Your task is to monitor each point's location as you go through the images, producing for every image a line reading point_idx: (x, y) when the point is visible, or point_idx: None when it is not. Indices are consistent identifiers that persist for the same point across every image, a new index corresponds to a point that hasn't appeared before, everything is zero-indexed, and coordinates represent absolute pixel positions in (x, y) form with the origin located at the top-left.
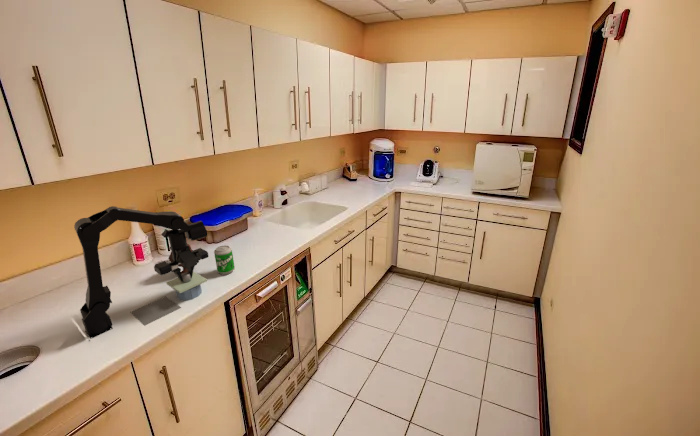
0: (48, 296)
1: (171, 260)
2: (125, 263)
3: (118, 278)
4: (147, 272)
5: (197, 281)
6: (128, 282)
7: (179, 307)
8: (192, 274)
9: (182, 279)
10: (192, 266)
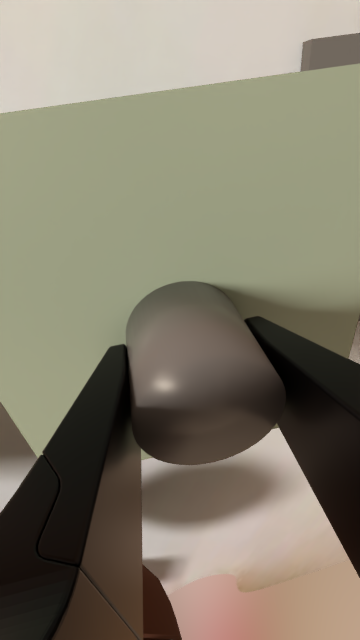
0: None
1: (178, 632)
2: (249, 589)
3: (309, 536)
4: (227, 541)
5: (48, 199)
6: (306, 509)
7: (320, 63)
8: (86, 383)
9: (267, 335)
10: (8, 612)
